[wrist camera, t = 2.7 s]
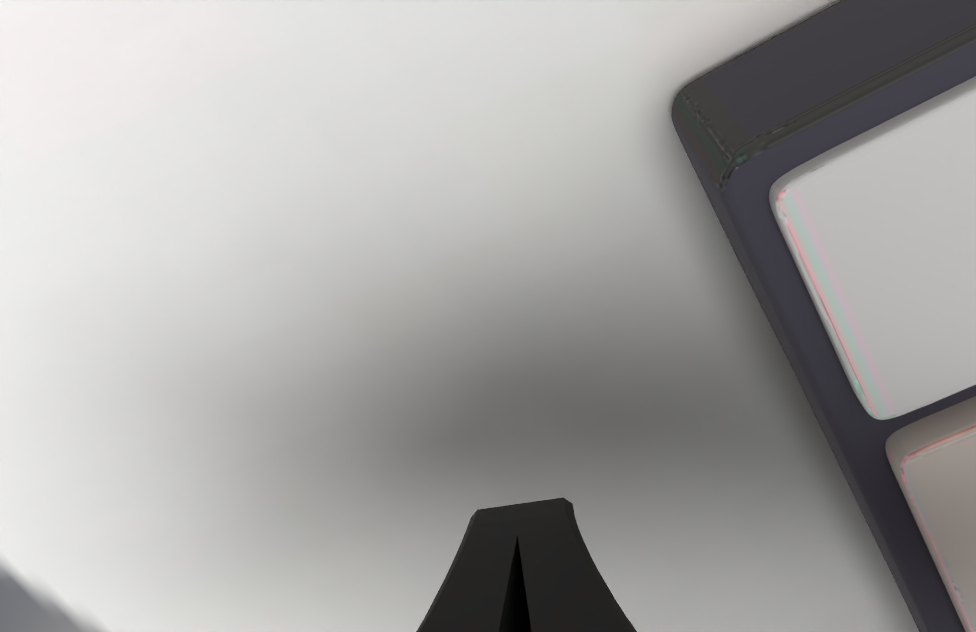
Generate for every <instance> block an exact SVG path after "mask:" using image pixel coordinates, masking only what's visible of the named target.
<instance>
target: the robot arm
mask: <svg viewBox="0 0 976 632" xmlns="http://www.w3.org/2000/svg"><path fill="white" fill-rule="evenodd" d="M417 632H637V631H636V630H635V629H634V627H633V626H632V624H631V623H630V621H629V620H628V618H627V617H626V616H625V614H624V613H623V611H622V609H621V608H620V606H619V605H618V603H617V602H616V600H615V599H614V597H613V595H612V593H611V592H610V590H609V588H608V587H607V585H606V583H605V581H604V580H603V578H602V576H601V575H600V573H599V571H598V569H597V568H596V566H595V564H594V562H593V560H592V558H591V556H590V554H589V552H588V550H587V547H586V545H585V543H584V541H583V539H582V536H581V534H580V531H579V529H578V526H577V523H576V520H575V516H574V510H573V504H572V503H571V502H569V501H568V500H566V499H565V498H558V499H551V500H544V501H536V502H529V503H522V504H515V505H508V506H501V507H494V508H487V509H480V510H477V511H476V512H475V514H474V515H473V516H472V517H471V519H470V522H469V525H468V528H467V530H466V533H465V535H464V538H463V540H462V543H461V545H460V547H459V550H458V552H457V554H456V556H455V558H454V561H453V563H452V565H451V567H450V569H449V571H448V573H447V576H446V578H445V580H444V582H443V584H442V585H441V587H440V589H439V591H438V593H437V595H436V597H435V599H434V601H433V603H432V605H431V607H430V609H429V611H428V613H427V614H426V616H425V618H424V620H423V622H422V623H421V625H420V627H419V628H418V630H417Z"/></svg>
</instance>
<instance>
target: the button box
mask: <svg viewBox="0 0 976 632" xmlns="http://www.w3.org/2000/svg"><path fill="white" fill-rule="evenodd" d="M672 120H673V123H674V126H675V129H676V131H677V133H678V136H679V138H680V140H681V142H682V144H683V146H684V148H685V151H686V153H687V155H688V157H689V159H690V161H691V163H692V165H693V167H694V169H695V171H696V173H697V175H698V177H699V179H700V181H701V184H702V186H703V188H704V190H705V192H706V194H707V196H708V198H709V200H710V202H711V204H712V206H713V208H714V210H715V212H716V214H717V217H718V219H719V221H720V223H721V225H722V227H723V229H724V231H725V233H726V235H727V237H728V239H729V241H730V243H731V245H732V247H733V249H734V252H735V254H736V256H737V258H738V260H739V262H740V264H741V266H742V268H743V270H744V272H745V274H746V276H747V278H748V280H749V282H750V284H751V286H752V288H753V290H754V292H755V294H756V296H757V298H758V301H759V303H760V305H761V307H762V309H763V311H764V313H765V315H766V317H767V318H768V320H769V322H770V324H771V326H772V328H773V330H774V332H775V334H776V336H777V338H778V340H779V342H780V344H781V346H782V348H783V350H784V352H785V354H786V356H787V358H788V360H789V362H790V364H791V366H792V368H793V370H794V372H795V374H796V376H797V379H798V381H799V383H800V385H801V387H802V389H803V391H804V393H805V395H806V397H807V399H808V401H809V403H810V405H811V407H812V410H813V412H814V414H815V416H816V418H817V420H818V422H819V424H820V426H821V428H822V430H823V432H824V434H825V436H826V438H827V441H828V443H829V445H830V447H831V449H832V451H833V453H834V455H835V457H836V459H837V461H838V463H839V465H840V467H841V470H842V472H843V474H844V476H845V478H846V480H847V482H848V484H849V486H850V488H851V490H852V492H853V494H854V496H855V498H856V501H857V503H858V505H859V507H860V509H861V511H862V513H863V515H864V517H865V519H866V521H867V523H868V525H869V527H870V530H871V532H872V534H873V536H874V538H875V540H876V542H877V544H878V546H879V548H880V550H881V552H882V554H883V556H884V558H885V561H886V563H887V565H888V567H889V569H890V571H891V573H892V575H893V577H894V579H895V581H896V583H897V585H898V587H899V589H900V592H901V594H902V596H903V598H904V600H905V602H906V604H907V606H908V608H909V610H910V612H911V614H912V616H913V618H914V621H915V623H916V625H917V627H918V629H919V631H920V632H976V0H843V1H841V2H839V3H838V4H836V5H834V6H832V7H830V8H828V9H826V10H825V11H823V12H821V13H819V14H817V15H815V16H813V17H812V18H810V19H808V20H806V21H804V22H802V23H800V24H799V25H797V26H795V27H793V28H791V29H789V30H788V31H786V32H784V33H782V34H780V35H778V36H776V37H775V38H773V39H771V40H769V41H767V42H765V43H763V44H762V45H760V46H758V47H756V48H754V49H752V50H751V51H749V52H747V53H745V54H743V55H741V56H739V57H738V58H736V59H734V60H732V61H730V62H728V63H726V64H725V65H723V66H721V67H719V68H717V69H715V70H713V71H712V72H710V73H708V74H706V75H704V76H702V77H701V78H699V79H697V80H696V81H694V82H692V83H691V84H689V85H687V86H686V87H685V88H684V89H683V90H681V92H680V93H679V94H678V96H677V97H676V99H675V101H674V103H673V107H672Z"/></svg>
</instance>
